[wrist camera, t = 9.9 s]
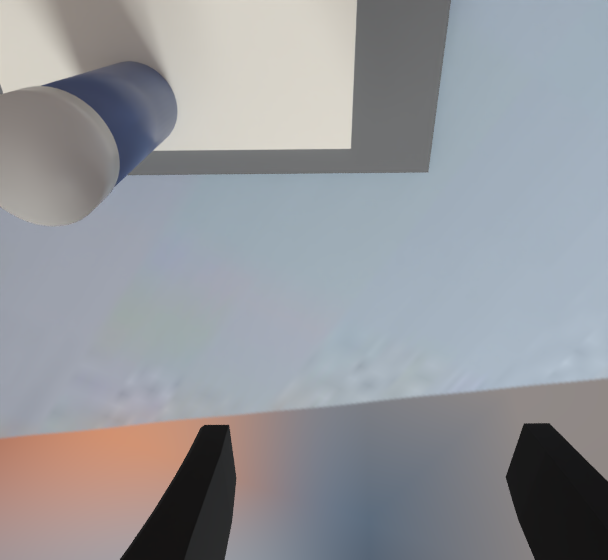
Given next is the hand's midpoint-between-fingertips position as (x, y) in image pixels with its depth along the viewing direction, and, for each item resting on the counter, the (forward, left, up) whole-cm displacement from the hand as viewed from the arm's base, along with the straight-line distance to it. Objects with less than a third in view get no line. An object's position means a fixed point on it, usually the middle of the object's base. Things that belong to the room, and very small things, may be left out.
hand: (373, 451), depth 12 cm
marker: (+8, -7, -9) cm, 14 cm away
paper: (+6, -9, -10) cm, 15 cm away
